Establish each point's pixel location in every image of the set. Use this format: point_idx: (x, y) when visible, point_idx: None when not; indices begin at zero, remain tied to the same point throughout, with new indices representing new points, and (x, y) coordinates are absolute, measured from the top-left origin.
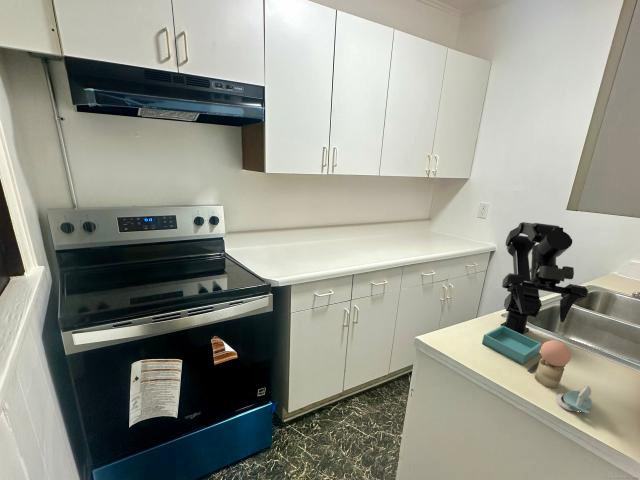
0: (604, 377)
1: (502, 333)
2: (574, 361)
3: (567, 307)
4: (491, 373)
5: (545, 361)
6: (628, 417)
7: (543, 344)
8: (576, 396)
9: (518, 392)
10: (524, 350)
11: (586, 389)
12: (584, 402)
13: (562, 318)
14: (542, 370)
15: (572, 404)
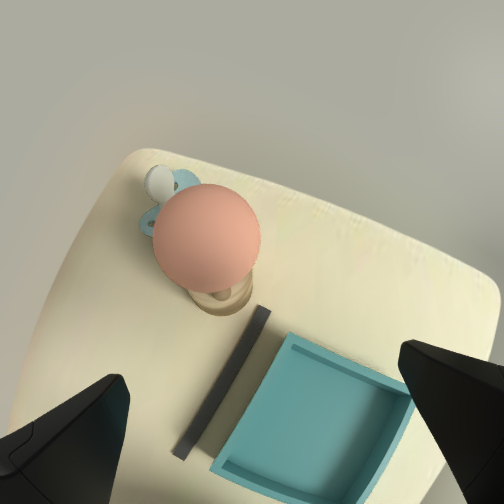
0: (60, 395)
1: (339, 502)
2: None
3: (35, 434)
4: (362, 237)
5: None
6: (80, 242)
7: (255, 233)
8: None
9: (298, 197)
10: (269, 434)
11: (159, 165)
12: (154, 219)
13: (113, 386)
14: None
15: None
